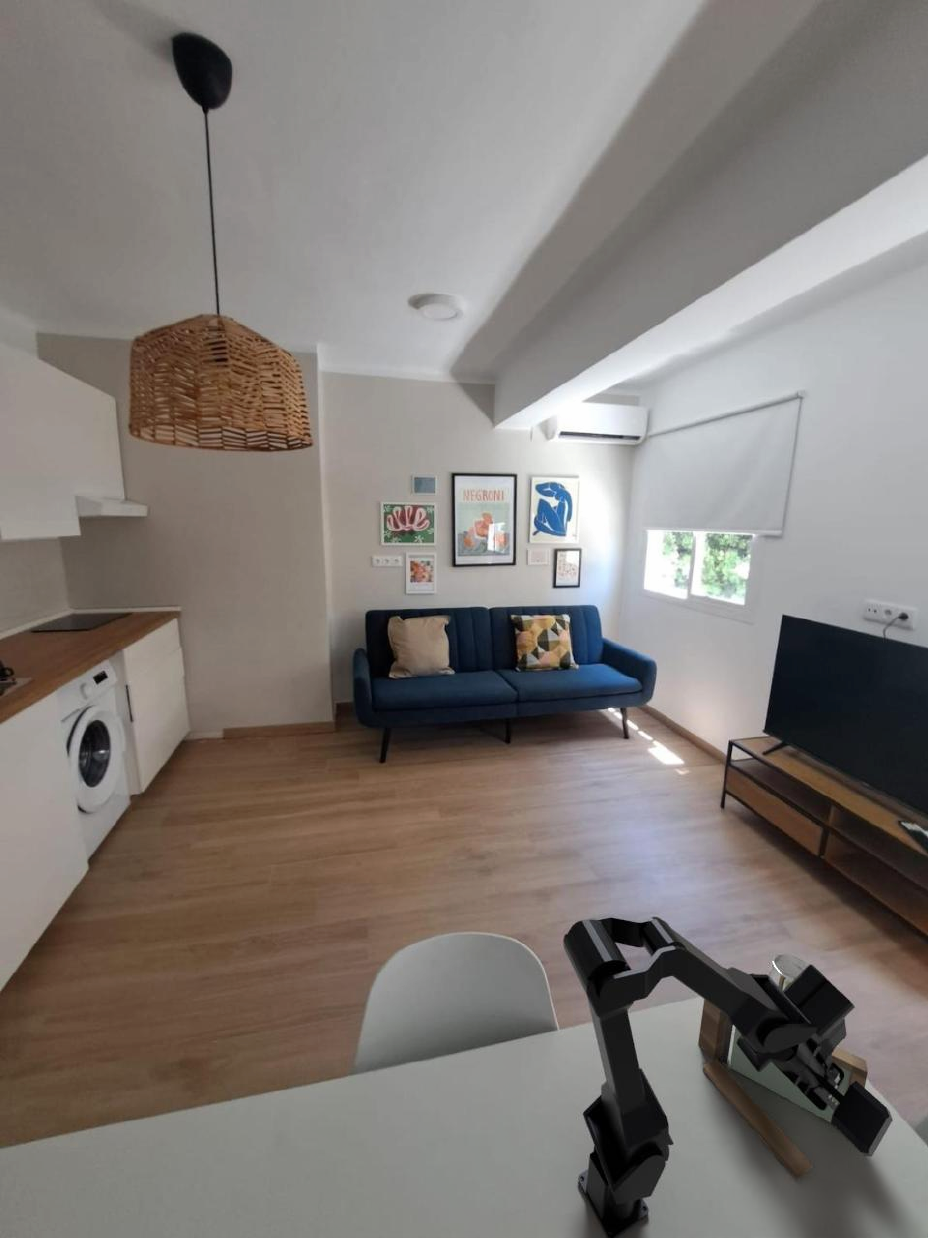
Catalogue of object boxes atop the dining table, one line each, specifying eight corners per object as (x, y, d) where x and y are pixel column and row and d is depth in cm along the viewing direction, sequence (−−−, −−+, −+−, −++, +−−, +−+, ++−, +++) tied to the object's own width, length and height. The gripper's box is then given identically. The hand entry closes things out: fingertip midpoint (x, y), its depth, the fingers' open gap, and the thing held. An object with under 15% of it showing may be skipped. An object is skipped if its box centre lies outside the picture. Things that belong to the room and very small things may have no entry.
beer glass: (792, 1028, 87) (805, 954, 84) (816, 1069, 80) (830, 990, 78) (751, 1023, 87) (763, 949, 85) (772, 1063, 81) (785, 985, 78)
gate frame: (797, 1180, 66) (813, 1094, 63) (685, 1050, 82) (695, 978, 80) (824, 1158, 68) (840, 1074, 66) (710, 1036, 85) (720, 966, 82)
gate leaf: (729, 1068, 79) (738, 1009, 77) (730, 1058, 81) (739, 1000, 79) (854, 1137, 70) (867, 1072, 69) (853, 1124, 72) (865, 1060, 70)
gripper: (899, 1060, 59) (927, 1098, 65) (753, 943, 75) (786, 982, 82) (850, 1144, 57) (884, 1174, 63) (711, 1004, 73) (749, 1039, 80)
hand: (820, 1080), depth 72 cm, fingers closed
